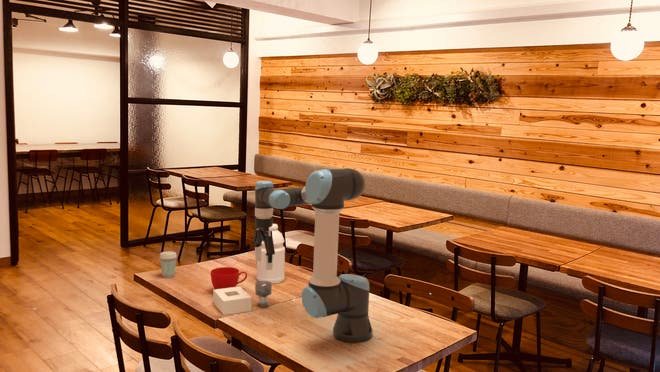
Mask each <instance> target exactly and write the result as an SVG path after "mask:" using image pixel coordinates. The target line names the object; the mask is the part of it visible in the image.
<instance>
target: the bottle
mask: <svg viewBox="0 0 660 372" xmlns="http://www.w3.org/2000/svg"><path fill="white" fill-rule="evenodd" d="M278 229H279V226H278V224H277V223H273V226H272V227H269V231H272V237H273V244H274V250H275V254H273V267H272V270H266V253H267V252H266V248H265V244H264V241H262V243H261V244H262V246H259V247H261V261H259V262H256V276H255V277H256V280H257V282H258V281H269V282H271V283H272V284H280V283H281V282H282V283H283V282H284V280H285V278H286V275H285V267H286V264H285V263H286V260H285V259H286V255H285V254H286V247H285V246H284V245H283V244H284V243H285V239H284V237H283V234H282V232H280V231H279V230H278Z"/></svg>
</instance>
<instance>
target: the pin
mask: <svg viewBox="0 0 660 372" xmlns="http://www.w3.org/2000/svg"><path fill="white" fill-rule="evenodd" d="M254 285H255V289H254V290H255V291H254V292H255V293H254V294H255V296H258V306H259V307H260V308H266V307H269V296H271V295H272V291H273V290H272V288H273V287H272V283H271V282H269V281H258V280H257V281H256V282H255V283H254Z"/></svg>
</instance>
